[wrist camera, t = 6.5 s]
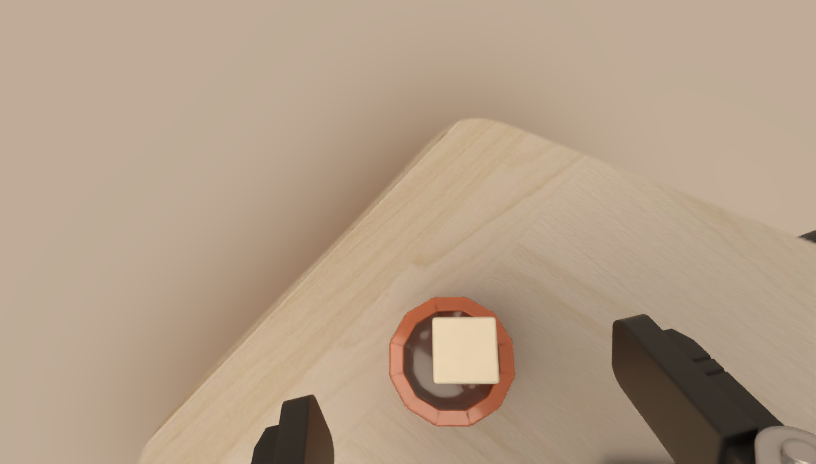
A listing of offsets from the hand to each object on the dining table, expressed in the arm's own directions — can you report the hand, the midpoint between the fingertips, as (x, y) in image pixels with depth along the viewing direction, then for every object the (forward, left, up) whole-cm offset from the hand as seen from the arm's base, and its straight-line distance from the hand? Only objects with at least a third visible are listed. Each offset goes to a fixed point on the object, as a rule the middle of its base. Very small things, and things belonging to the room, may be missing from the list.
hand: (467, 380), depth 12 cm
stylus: (0, -1, -11) cm, 11 cm away
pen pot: (0, -1, -12) cm, 12 cm away
